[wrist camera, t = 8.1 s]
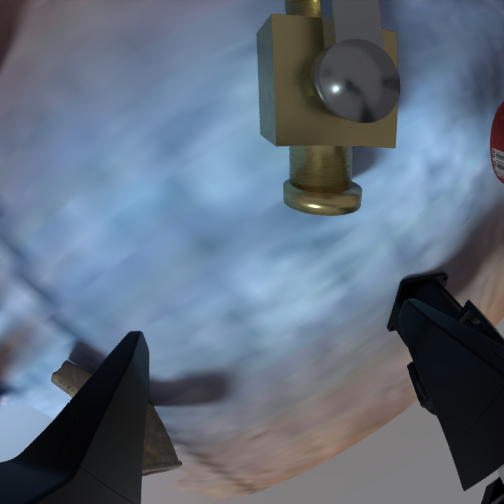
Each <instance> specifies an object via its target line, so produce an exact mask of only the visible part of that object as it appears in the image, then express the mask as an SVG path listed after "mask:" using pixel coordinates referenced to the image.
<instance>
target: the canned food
mask: <svg viewBox="0 0 504 504" xmlns="http://www.w3.org/2000/svg"><path fill="white" fill-rule="evenodd" d="M490 153H491V161H492V166H493V169H494V172H495V174H496V176H497V178H498V179H499V180H500V181H501V182H502V183H504V102H503V103H502V104H501V105H500V106H499V108H498V110H497V112H496V114H495V117H494V120H493V124H492V129H491V137H490Z"/></svg>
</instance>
